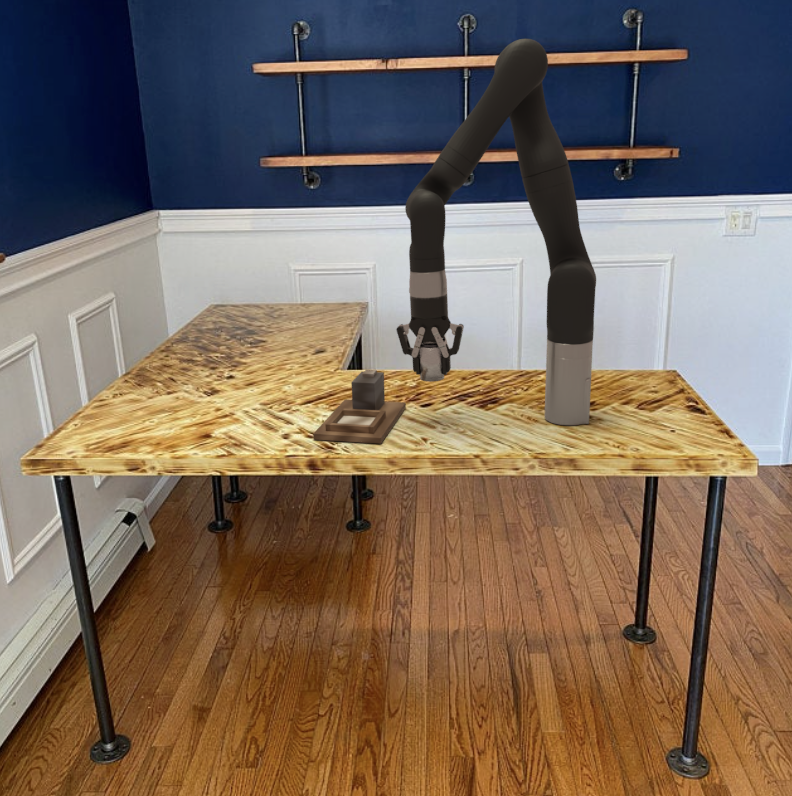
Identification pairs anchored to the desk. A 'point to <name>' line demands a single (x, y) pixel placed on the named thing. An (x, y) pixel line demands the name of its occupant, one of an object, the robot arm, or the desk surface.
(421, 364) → the lens
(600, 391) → the desk surface
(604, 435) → the desk surface
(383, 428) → the dock
